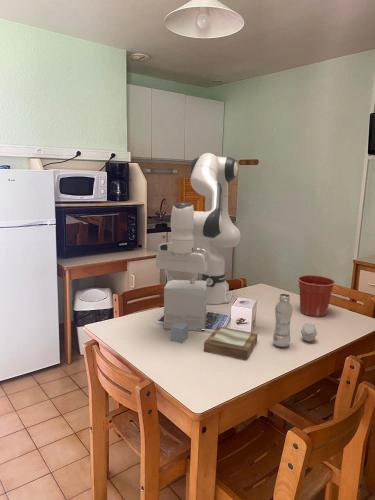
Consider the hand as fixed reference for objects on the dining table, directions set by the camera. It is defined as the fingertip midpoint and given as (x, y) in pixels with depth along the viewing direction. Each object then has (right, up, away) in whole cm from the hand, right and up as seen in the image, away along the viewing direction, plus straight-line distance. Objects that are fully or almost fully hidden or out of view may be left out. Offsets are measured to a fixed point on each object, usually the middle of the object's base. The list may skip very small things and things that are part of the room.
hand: (180, 282), depth 144 cm
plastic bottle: (+38, -24, 0) cm, 45 cm away
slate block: (-1, -23, +3) cm, 23 cm away
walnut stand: (+19, -24, -1) cm, 31 cm away
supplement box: (+2, -20, +19) cm, 27 cm away
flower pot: (+62, -18, +35) cm, 73 cm away
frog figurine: (+50, -24, +5) cm, 55 cm away
